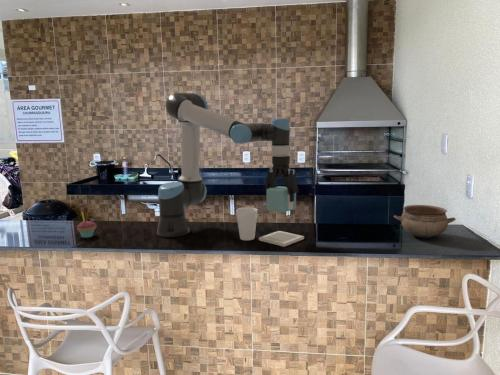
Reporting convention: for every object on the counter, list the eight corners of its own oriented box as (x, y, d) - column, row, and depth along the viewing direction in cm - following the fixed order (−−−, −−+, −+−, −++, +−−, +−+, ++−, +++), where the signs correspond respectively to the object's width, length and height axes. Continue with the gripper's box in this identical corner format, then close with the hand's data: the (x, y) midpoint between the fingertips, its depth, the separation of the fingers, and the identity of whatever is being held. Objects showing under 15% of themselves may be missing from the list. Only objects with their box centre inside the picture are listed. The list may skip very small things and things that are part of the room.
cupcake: (73, 238, 186) (71, 212, 183) (86, 233, 193) (83, 208, 191) (89, 239, 183) (86, 213, 181) (101, 234, 191) (99, 209, 189)
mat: (258, 240, 177) (258, 237, 176) (279, 233, 187) (279, 230, 186) (284, 246, 167) (284, 243, 167) (303, 238, 177) (303, 236, 177)
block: (266, 209, 174) (266, 189, 173) (279, 205, 181) (279, 186, 179) (282, 212, 168) (282, 191, 167) (296, 208, 175) (295, 188, 173)
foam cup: (232, 238, 181) (231, 209, 178) (248, 233, 186) (247, 206, 184) (246, 242, 173) (245, 213, 171) (262, 238, 179) (261, 209, 177)
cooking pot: (394, 241, 171) (396, 213, 169) (391, 229, 189) (392, 203, 187) (459, 244, 165) (461, 215, 163) (449, 231, 183) (451, 205, 181)
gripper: (307, 155, 166) (307, 209, 170) (267, 153, 180) (267, 202, 184) (296, 157, 160) (296, 212, 164) (255, 154, 175) (256, 205, 179)
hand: (281, 207), depth 174 cm, fingers closed on block, 9 cm apart
